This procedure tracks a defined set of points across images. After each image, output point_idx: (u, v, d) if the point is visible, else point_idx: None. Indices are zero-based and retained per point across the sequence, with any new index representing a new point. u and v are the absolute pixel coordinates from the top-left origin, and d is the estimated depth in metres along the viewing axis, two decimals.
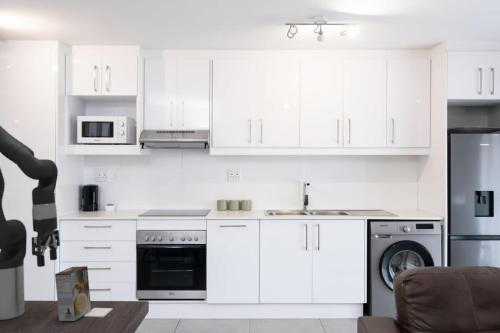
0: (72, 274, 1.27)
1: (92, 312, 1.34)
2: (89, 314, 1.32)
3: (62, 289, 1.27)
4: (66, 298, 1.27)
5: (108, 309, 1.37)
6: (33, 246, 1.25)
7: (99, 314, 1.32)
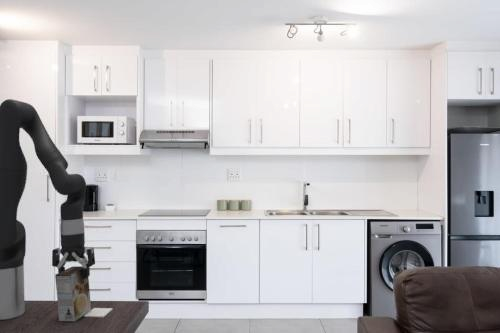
0: (72, 275, 1.27)
1: (92, 312, 1.34)
2: (89, 314, 1.32)
3: (62, 290, 1.27)
4: (66, 299, 1.27)
5: (108, 309, 1.37)
6: (91, 257, 1.30)
7: (99, 314, 1.32)
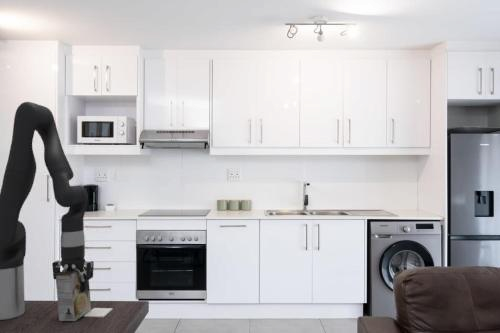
0: (72, 274, 1.27)
1: (92, 312, 1.34)
2: (89, 314, 1.32)
3: (62, 289, 1.27)
4: (66, 298, 1.27)
5: (108, 309, 1.37)
6: (90, 271, 1.30)
7: (99, 314, 1.32)
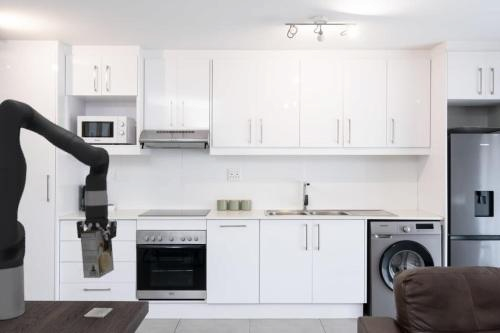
0: (97, 232, 1.30)
1: (92, 312, 1.34)
2: (89, 314, 1.32)
3: (87, 247, 1.30)
4: (91, 256, 1.30)
5: (108, 309, 1.37)
6: (114, 230, 1.33)
7: (99, 314, 1.32)
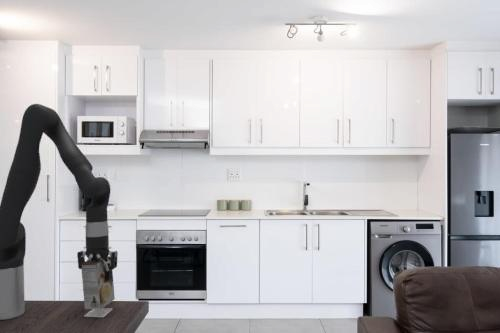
0: (98, 264, 1.30)
1: (92, 312, 1.34)
2: (89, 314, 1.32)
3: (87, 278, 1.30)
4: (92, 287, 1.30)
5: (108, 309, 1.37)
6: (114, 260, 1.33)
7: (99, 314, 1.32)
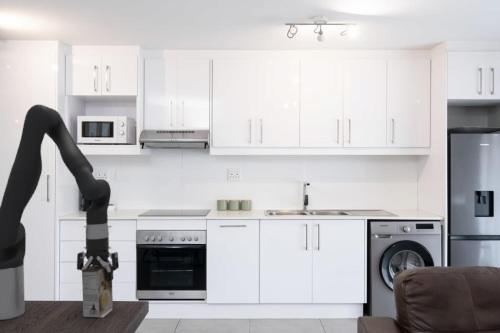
0: (99, 271, 1.30)
1: None
2: None
3: (88, 285, 1.30)
4: (92, 294, 1.30)
5: None
6: (115, 261, 1.33)
7: None
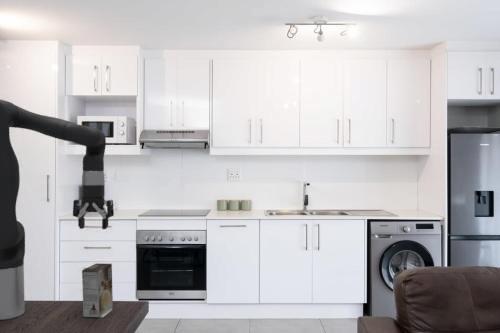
0: (99, 271, 1.30)
1: None
2: None
3: (88, 285, 1.30)
4: (92, 294, 1.30)
5: None
6: (111, 208, 1.35)
7: None
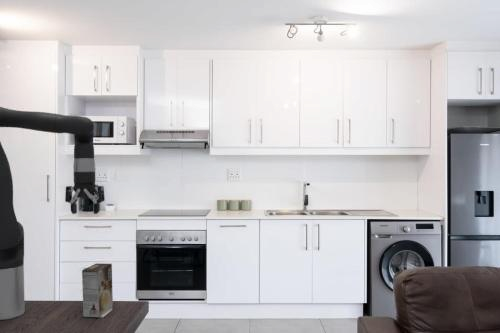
0: (99, 271, 1.30)
1: None
2: None
3: (88, 285, 1.30)
4: (92, 294, 1.30)
5: None
6: (101, 194, 1.42)
7: None
